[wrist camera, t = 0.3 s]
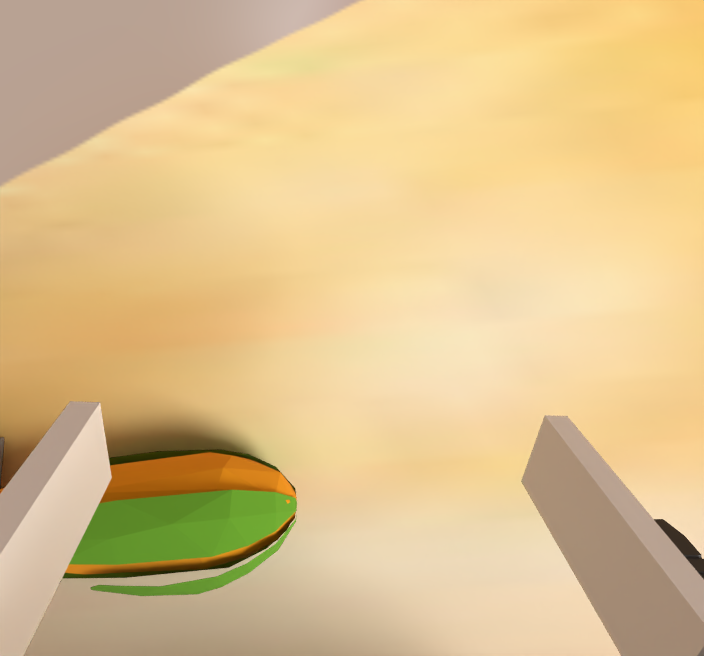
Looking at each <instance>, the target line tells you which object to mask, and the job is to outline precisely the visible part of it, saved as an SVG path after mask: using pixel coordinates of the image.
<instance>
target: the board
mask: <svg viewBox="0 0 704 656" xmlns="http://www.w3.org/2000/svg"><path fill="white" fill-rule="evenodd" d="M3 448H4V437H0V484H1V472H2V460H3Z"/></svg>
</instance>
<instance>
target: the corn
mask: <svg viewBox="0 0 704 656" xmlns="http://www.w3.org/2000/svg"><path fill="white" fill-rule="evenodd" d="M109 463H110V470H111V476H112V478H111V480H110V482H109V484H108V486H107V488H106V490H105V492H104V494H103V497H102V499H101V501H100V503H99V505H98V507H97V509H96V511H95V513H94V515H93V517H92V519H91V521H90V523H89V525H88V527H87V529H86V531H85V533H84V535H83V537H82V539H81V541H80V543H79V545H78V547H77V549H76V551H75V553H74V555H73V557H72V559H71V561H70V563H69V565H68V567H67V569H66V571H65V573H64V575H63V577H62V578H126V577H137V576H147V575H157V574H167V573H178V572H188V571H198V570H208V569H218V568H229V567H231V566H233V565H235V564H237V563H239V562H241V561H243V560H245V559H247V558H248V557H250V556H252V555H254V554H256V553H258V552H260V551H262V550H264V549H266V548H267V547H268V546H270V545H271V544H272V543H273V542H275V541H276V540H278V539H279V537H280V536H281V535H282V534H283V533H284V532H285V531H286V530H287V529H288V530H287V531H286V532H285V533H284V535H283V536H282V537H281V538H280V539H279V541H278V542H277V543H276V544H275V545H274V546H272V547H271V548H269V549H268V550H266V551H265V552H263V553H262V554H260V555H259V556H257V557H256V558H254V559H253V560H251V561H250V562H248V563H247V564H245V565H242V566H240V567H238V568H235V569H233V570H231V571H228V572H226V573H224V574H222V575H219V576H217V577H211V578H206V579H200V580H194V581H189V582H183V583H177V584H171V585H166V586H111V585H97V586H94V587H91V590H96V591H104V592H113V593H121V594H129V595H138V596H156V595H188V594H200V593H203V592H206V591H210V590H213V589H217V588H220V587H222V586H224V585H226V584H228V583H230V582H232V581H234V580H236V579H238V578H240V577H242V576H244V575H246V574H248V573H249V572H251V571H252V570H253V569H255V568H256V567H257V566H258V565H260V564H261V563H262V562H263V561H265V560H266V559H267V558H268V557H270V556H271V555H272V554H274V553H275V552H276V551H277V550H278V549H279V548H280V546H281V544H282V543H283V541H284V540H285V538H286V536H287V535H288V533H289V532H290V530H291V528H292V527H293V525H294V524H295V522H296V520H295V521H294V522H293V523H292V525H291V526H290V527H289V525H290V523H291V522H292V521H293V520H294V518H295V513H296V508H297V501H296V499H297V498H296V492H295V488H294V487H293V486H292V484H291V483H290V482H289V481H288V480H287V479H286V478H285V477H284V475H283V474H282V473H281V472H280V471H279V470H278V469H277V468H276V467H275V466H273V465H271V464H269V463H266V462H264V461H262V460H260V459H258V458H255V457H253V456H251V455H249V454H243V453H237V452H231V451H225V450H188V451H157V452H149V453H142V454H134V455H127V456H120V457H112V458H109ZM3 490H4V488H2V489H0V494H1V492H2V491H3ZM296 516H297V515H296ZM288 527H289V528H288Z"/></svg>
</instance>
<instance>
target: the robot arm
mask: <svg viewBox="0 0 704 656" xmlns="http://www.w3.org/2000/svg"><path fill="white" fill-rule="evenodd" d="M111 478H112V476H111V470H110V463H109V457H108V450H107V444H106V438H105V431H104V425H103V418H102V412H101V406H100V402H72V401H70V402H69V404H68V405H67V406H66V408H65V409H64V410H63V411H62V413H61V414H60V415H59V417H58V418H57V419H56V421H55V422H54V423H53V425H52V426H51V427H50V429H49V430H48V431H47V433H46V434H45V435H44V437H43V438H42V439H41V441H40V442H39V443H38V445H37V446H36V447H35V449H34V450H33V451H32V452H31V454H30V455H29V456H28V458H27V459H26V460H25V462H24V463H23V464H22V466H21V467H20V468H19V470H18V471H17V472H16V474H15V475H14V476H13V478H12V479H11V480H10V482H9V483H8V484H7V486H6V487H5V488H4V490H3V491H2V492H1V494H0V656H24V654H25V652H26V650H27V648H28V646H29V644H30V642H31V640H32V638H33V636H34V634H35V632H36V630H37V628H38V626H39V624H40V622H41V620H42V618H43V616H44V614H45V612H46V610H47V608H48V606H49V604H50V602H51V600H52V597H53V595H54V593H55V591H56V589H57V587H58V585H59V583H60V581H61V579H62V577H63V575H64V573H65V571H66V569H67V567H68V565H69V563H70V561H71V559H72V557H73V555H74V553H75V551H76V549H77V547H78V545H79V543H80V541H81V539H82V537H83V535H84V533H85V531H86V529H87V527H88V525H89V523H90V521H91V519H92V517H93V515H94V513H95V511H96V509H97V507H98V505H99V503H100V501H101V499H102V497H103V494H104V492H105V490H106V488H107V486H108V484H109V482H110V480H111ZM521 482H522V484H523V485H524V487H525V489H526V491H527V492H528V494H529V496H530V498H531V499H532V501H533V503H534V504H535V506H536V508H537V510H538V511H539V513H540V515H541V517H542V518H543V520H544V522H545V524H546V525H547V527H548V529H549V531H550V532H551V534H552V536H553V538H554V539H555V541H556V543H557V545H558V546H559V548H560V550H561V552H562V553H563V555H564V557H565V558H566V560H567V562H568V564H569V565H570V567H571V569H572V571H573V572H574V574H575V576H576V578H577V579H578V581H579V583H580V585H581V586H582V588H583V590H584V592H585V593H586V595H587V597H588V599H589V600H590V602H591V604H592V606H593V607H594V609H595V611H596V612H597V614H598V616H599V618H600V619H601V621H602V623H603V625H604V626H605V628H606V630H607V632H608V633H609V635H610V637H611V639H612V640H613V642H614V644H615V646H616V647H617V649H618V651H619V653H620V654H621V656H704V559H702V557H701V554H700V553H699V552H698V551H697V550H696V548H695V547H694V546H693V545H692V544H691V543H690V542H689V540H688V539H687V538H686V537H685V536H684V535H683V534H681V533H680V532H679V531H678V530H676V529H675V528H674V527H672V526H671V525H670V524H668V523H667V522H666V521H665V520H663V519H653V518H652V517H651V516H650V515H649V513H648V512H647V511H646V510H645V509H644V507H643V506H642V505H641V504H640V503H639V501H638V500H637V499H636V498H635V497H634V495H633V494H632V493H631V492H630V491H629V489H628V488H627V487H626V486H625V485H624V483H623V482H622V481H621V480H620V479H619V477H618V476H617V475H616V474H615V473H614V471H613V470H612V469H611V468H610V467H609V465H608V464H607V463H606V462H605V461H604V459H603V458H602V457H601V456H600V455H599V453H598V452H597V451H596V450H595V449H594V447H593V446H592V445H591V444H590V443H589V442H588V440H587V439H586V438H585V437H584V436H583V434H582V433H581V432H580V431H579V430H578V428H577V427H576V426H575V425H574V424H573V422H572V421H571V420H570V419H569V418H568V416H544V419H543V422H542V425H541V428H540V430H539V433H538V436H537V439H536V441H535V444H534V447H533V450H532V453H531V455H530V458H529V461H528V464H527V467H526V469H525V472H524V475H523V478H522V481H521Z"/></svg>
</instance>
